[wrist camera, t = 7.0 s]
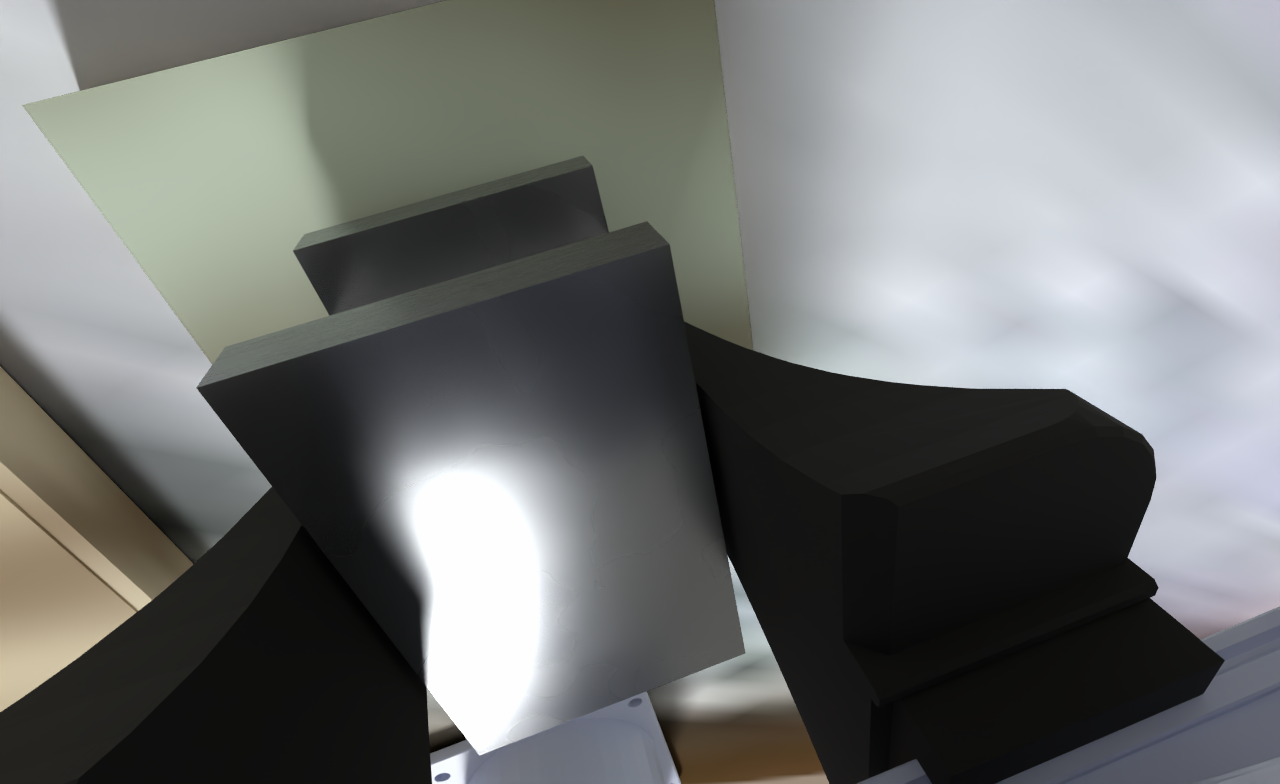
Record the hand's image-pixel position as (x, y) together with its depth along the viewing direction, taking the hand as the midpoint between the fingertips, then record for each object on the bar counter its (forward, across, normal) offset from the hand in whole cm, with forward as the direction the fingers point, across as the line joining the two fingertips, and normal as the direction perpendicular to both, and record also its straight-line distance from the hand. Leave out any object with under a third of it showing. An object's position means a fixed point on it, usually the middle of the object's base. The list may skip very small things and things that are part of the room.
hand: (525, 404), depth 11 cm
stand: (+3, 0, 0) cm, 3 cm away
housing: (+1, 0, 0) cm, 1 cm away
